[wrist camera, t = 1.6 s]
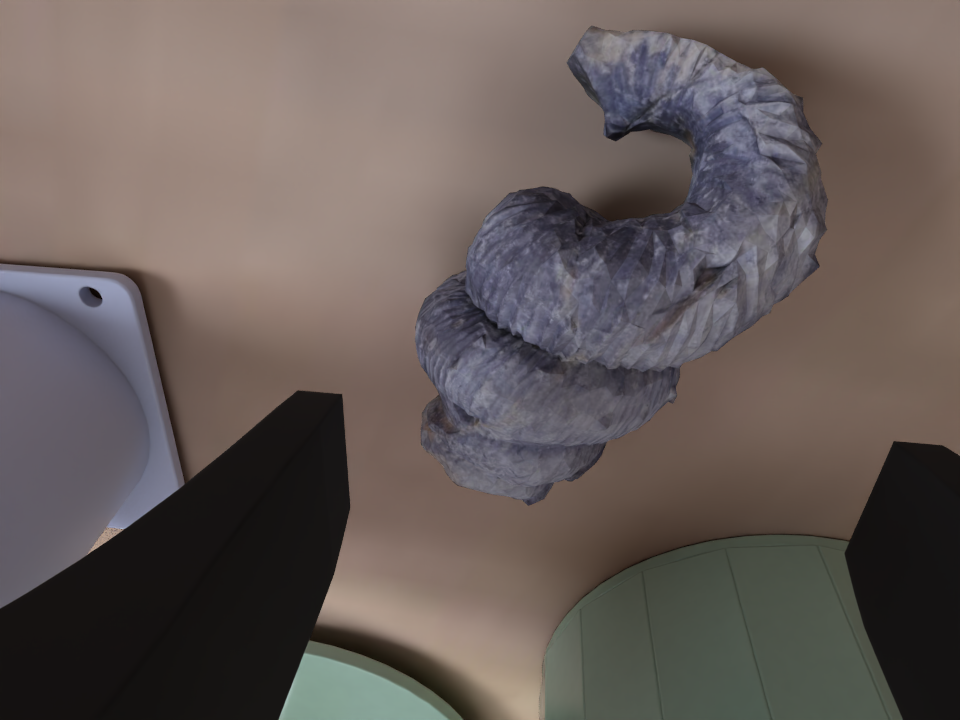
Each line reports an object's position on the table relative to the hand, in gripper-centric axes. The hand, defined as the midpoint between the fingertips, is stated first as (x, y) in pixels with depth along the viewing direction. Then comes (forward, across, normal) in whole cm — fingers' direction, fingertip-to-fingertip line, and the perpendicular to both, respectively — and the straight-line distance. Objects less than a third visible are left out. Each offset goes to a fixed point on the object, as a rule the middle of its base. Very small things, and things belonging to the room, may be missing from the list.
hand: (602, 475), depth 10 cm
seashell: (+7, 0, 0) cm, 7 cm away
